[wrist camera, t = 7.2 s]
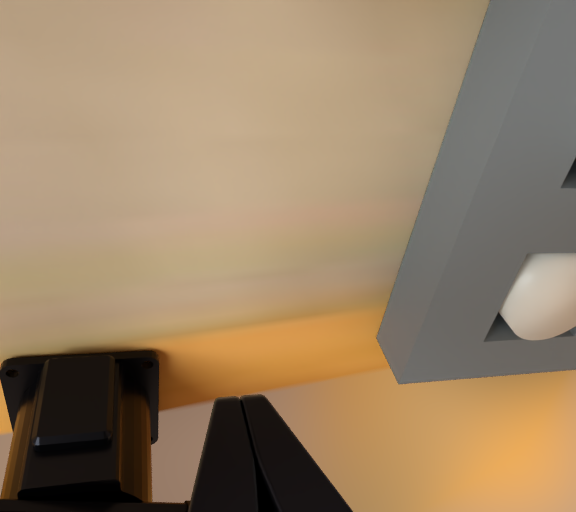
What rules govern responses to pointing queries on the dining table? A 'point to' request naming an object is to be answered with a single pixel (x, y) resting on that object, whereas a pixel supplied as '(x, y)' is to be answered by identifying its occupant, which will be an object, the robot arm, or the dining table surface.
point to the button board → (492, 204)
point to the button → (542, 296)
